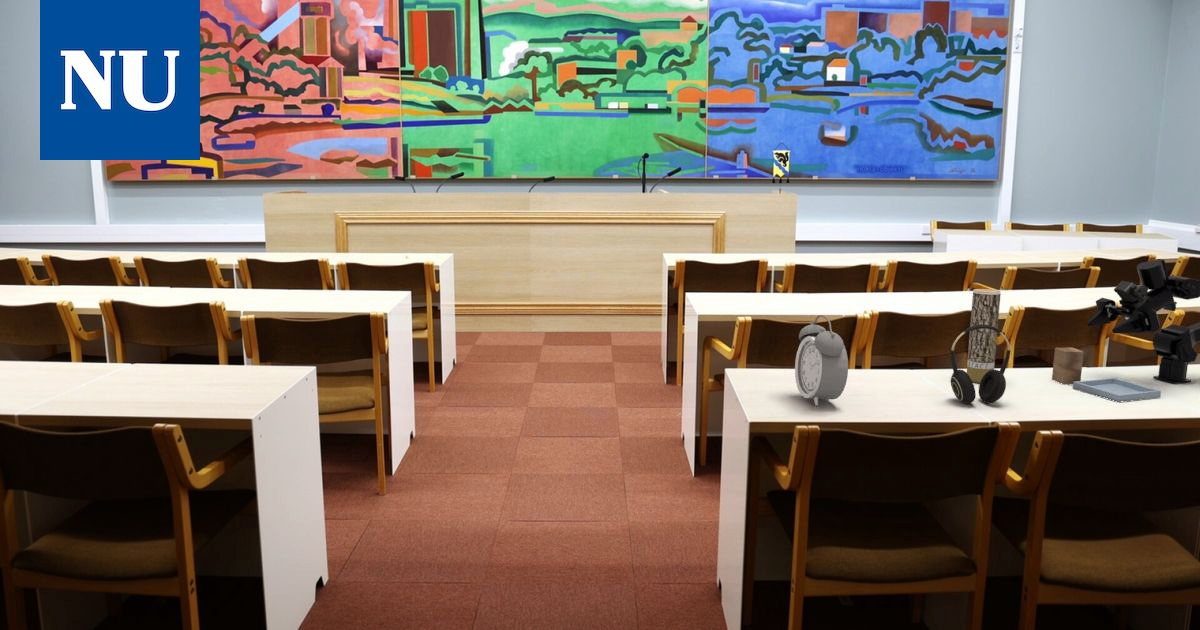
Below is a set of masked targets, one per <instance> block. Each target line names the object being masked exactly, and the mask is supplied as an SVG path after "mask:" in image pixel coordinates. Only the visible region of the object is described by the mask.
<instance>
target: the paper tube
mask: <svg viewBox="0 0 1200 630" xmlns="http://www.w3.org/2000/svg"><path fill="white" fill-rule="evenodd" d="M1001 296H1002V295H1001V290H997V289H991V288H990V289H989V288H987V289H986V288H976V289H973V290H972V299H971V301H972V302H971V314H970V326H969V327H971V326H974V325H980V324H985V325H991V326H994V327H996V328H998V327H999V315H1000V306H1001V305H1000V304H1001ZM998 329H999V328H998ZM997 338H998V332H996V331H994V330H991V329H975V330H971V331H969V337H968V349H967V350H968V351H967V361H966V362H967V363H966V373H967V374H968V375H969V377H970V378H971V380H972V382H973V383H977V384H980V382H981V379H982V378H983V376H984V375H985V374H986V373H987V372H988V371H990V370H995V363H996V353H997V352H996V350H997Z"/></svg>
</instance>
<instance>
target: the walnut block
mask: <svg viewBox="0 0 1200 630" xmlns="http://www.w3.org/2000/svg"><path fill="white" fill-rule="evenodd" d="M1083 360H1084V351H1083V350H1081V349H1077V348H1074V347H1055V348H1054V355H1053V364H1052V374H1051V380H1052V381H1054V380H1055V381H1054V382H1056V381H1057V383H1058V382H1059V383H1058V384H1061V383H1062V384H1061V385H1073V382H1076V381H1082V380H1081V379H1082V369H1083Z"/></svg>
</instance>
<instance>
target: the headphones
mask: <svg viewBox="0 0 1200 630" xmlns="http://www.w3.org/2000/svg"><path fill="white" fill-rule="evenodd" d="M975 329H991V330H994V331H996V332H997V334H1000V335H1001V336H1002V337H1003V339H1004V340H1005V342H1006V346H1007V349H1006V352H1005V353H1006V354H1005V357H1004V360H1003V363H1002V365H1001V366H1000V369H994V370H990V371H988V372H987V373H986V374H985V375H984V376H983V378H982V379H981V382H980V383H979V386H978V396H979V398H980V400H981V401H982V402H984V403H986V404H994V403H995V402H997V401H998V400H1000V399H1002V397H1003V396H1004V394H1005V391H1006V388H1007V381H1006V377H1005V375H1004V374H1005V372H1006V370H1007V367H1008V363H1009V360H1010V356H1011V352H1012V351H1011V345H1010V342H1009V340H1008V338H1007V336H1005V334H1004V333H1003V332H1002V331H1001V329H999V328H996V327H994V326H991V325H985V324H980V325H974V326H971V327H970V326H969V327H967V328H966V329H965V330H963V332H961V333H960V334H959V335H958V336H957V337H956V339H955V340H954V341H953V343H952V346H951V350H950V361H951V366H952V370H953V372H952V374H951V377H950V387H951V389H952V392H953V394H954V396H955V397H956V398H957V400H958V401H960V402H962V403H963V404H972V403H973V402H974V401H975V399H976V398H977V397H976V395H977V394H976V393H977V392H976V389H975V385H974V382H972V380H971V378H970V377H969V375H968V374H967V371H965V370H963V369H959V368H958V366H957V362H956V359H955V355H956V354H955V347H956V344H957V342H958V340H960V338H961V337H962V336H964V335H965V334H968V333H970V331H971V330H975Z"/></svg>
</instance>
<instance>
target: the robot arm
mask: <svg viewBox="0 0 1200 630" xmlns="http://www.w3.org/2000/svg"><path fill="white" fill-rule="evenodd" d="M1136 269H1137V273H1138V277H1139V280H1140V285H1138V284H1136V283H1133V282H1131V281H1125V280H1121V281H1120V282H1119V284H1118V285H1116V286H1115V288H1114V289H1113V291H1114V292H1115V293H1116V294H1117V295H1118V296H1119V298H1120V299H1119V301H1118V302H1119V305H1120V306H1118V305H1117V304H1116V301H1115V300H1113V299H1110V298H1106V297H1105V298H1104V297H1101V298H1099V299H1097V300H1095V305H1096V307H1097V310H1096V311H1095V312H1094V314H1093V315H1092V316H1091V318H1089V320H1088V321H1087V322H1086V326H1087V327H1095V326H1101V325H1108V324H1111V323H1112V322H1114V321H1117V320H1118V318H1119V317H1124V319H1125V320H1124V321H1122V322H1121V323H1119V324H1118V325H1117V326H1115V327H1114V328H1112V330H1111V331H1112V333H1113V334H1128V333H1129V334H1131V333H1135V334H1136V333H1144V334H1145V333H1151V334H1152V333H1154V336H1153V339H1152V346H1153V349H1154V353H1155V354H1154V355H1155V356H1159V357H1161V359H1160V363H1159V367H1158V374H1157V375H1154V376H1153V379H1156V380H1160V381H1163V382H1168V383H1172V384H1183V383H1191V382H1192V379H1188V378H1187V373H1188V366H1189V363H1191V362H1192V363H1193V362H1196V359H1197V357H1198V353H1197V352H1196V350H1195V349H1194V347H1195V346H1196V344H1197V343H1199V342H1200V321H1199V322H1197V323H1196V322H1195V323H1194V324H1191V325H1188V326H1182V325H1178V324H1174V323H1172V324H1170V325H1168V326H1166V327H1161V328H1160V326H1161V324H1160V320H1159V317H1158V313H1157V312H1158V311H1161V310H1164V311H1165V310H1166V311H1168V312H1169V311H1170V312H1175V311H1176V309H1177V304H1178V302H1177V301H1175V299H1174V298H1176V299H1182V300H1187V301H1189V300H1194V299H1199V298H1200V280H1199V279H1196V278H1189V277H1185V276H1178V275H1170V276H1169V275H1168V271H1167V266H1166V261H1165V259H1161V258H1157V259H1155V260H1147V261H1145V262H1144V261H1142V262H1141V263H1138V264H1137V265H1136ZM1158 330H1159V331H1158ZM1156 331H1157V332H1156Z"/></svg>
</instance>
